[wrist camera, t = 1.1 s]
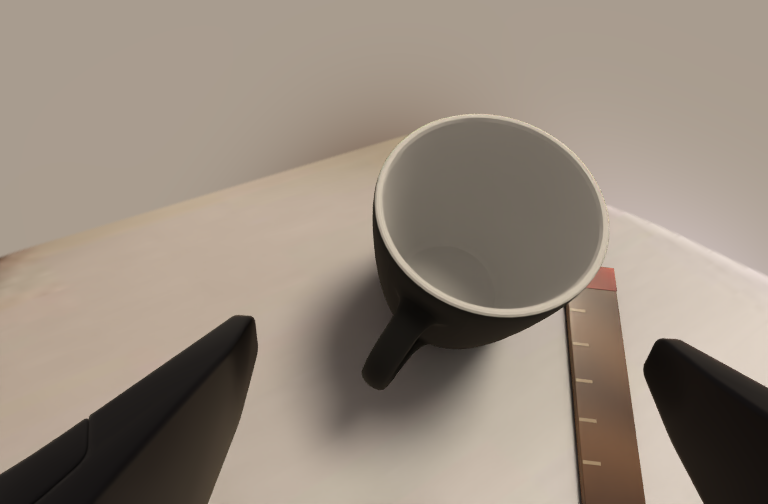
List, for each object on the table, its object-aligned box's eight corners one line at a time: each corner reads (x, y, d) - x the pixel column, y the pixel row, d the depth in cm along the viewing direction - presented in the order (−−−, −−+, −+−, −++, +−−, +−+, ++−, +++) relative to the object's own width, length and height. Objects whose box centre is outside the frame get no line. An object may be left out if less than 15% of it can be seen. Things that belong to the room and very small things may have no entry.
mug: (425, 202, 27) (456, 79, 18) (545, 279, 25) (648, 185, 16) (304, 346, 23) (264, 282, 14) (438, 453, 21) (494, 462, 12)
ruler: (652, 590, 19) (659, 593, 18) (587, 582, 19) (592, 585, 18) (609, 271, 26) (613, 268, 25) (562, 265, 26) (565, 262, 25)
